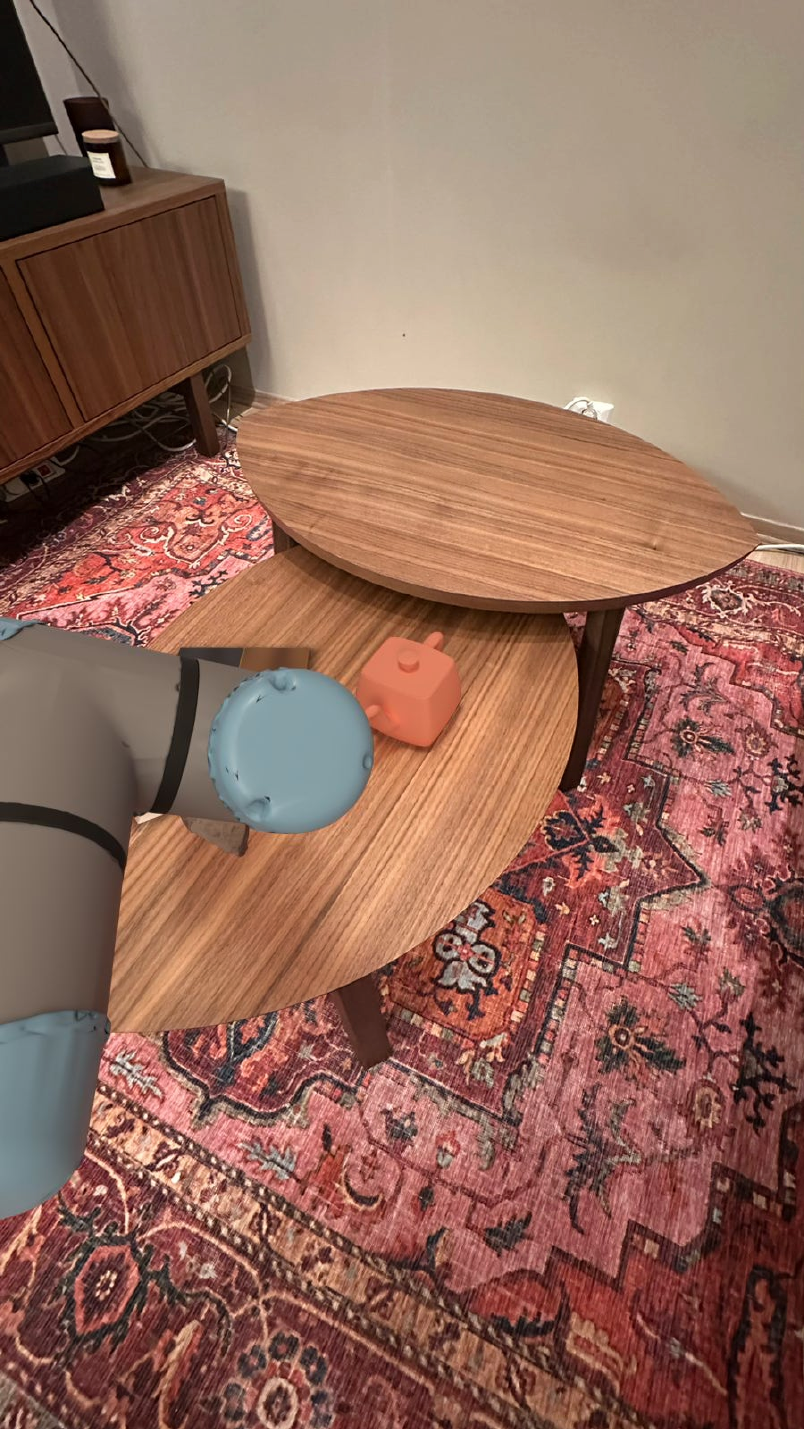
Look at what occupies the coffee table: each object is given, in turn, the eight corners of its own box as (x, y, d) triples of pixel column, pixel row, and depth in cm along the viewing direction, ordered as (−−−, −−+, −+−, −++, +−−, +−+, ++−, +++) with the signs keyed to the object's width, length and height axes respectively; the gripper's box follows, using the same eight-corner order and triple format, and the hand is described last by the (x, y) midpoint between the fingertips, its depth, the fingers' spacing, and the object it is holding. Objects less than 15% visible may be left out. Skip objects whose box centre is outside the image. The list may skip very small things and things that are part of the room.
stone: (139, 752, 69) (88, 772, 59) (184, 680, 68) (140, 688, 58) (263, 835, 69) (233, 868, 59) (310, 765, 68) (287, 787, 58)
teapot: (476, 689, 91) (482, 630, 83) (410, 787, 80) (409, 730, 72) (401, 660, 94) (400, 601, 87) (329, 750, 84) (320, 692, 76)
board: (159, 723, 87) (156, 716, 86) (182, 653, 96) (179, 645, 95) (299, 724, 87) (298, 717, 86) (310, 653, 96) (309, 646, 94)
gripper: (112, 893, 40) (98, 846, 60) (384, 727, 48) (290, 735, 69) (43, 783, 39) (53, 773, 59) (335, 631, 47) (254, 669, 67)
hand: (180, 753), depth 64 cm, fingers closed on stone, 7 cm apart
